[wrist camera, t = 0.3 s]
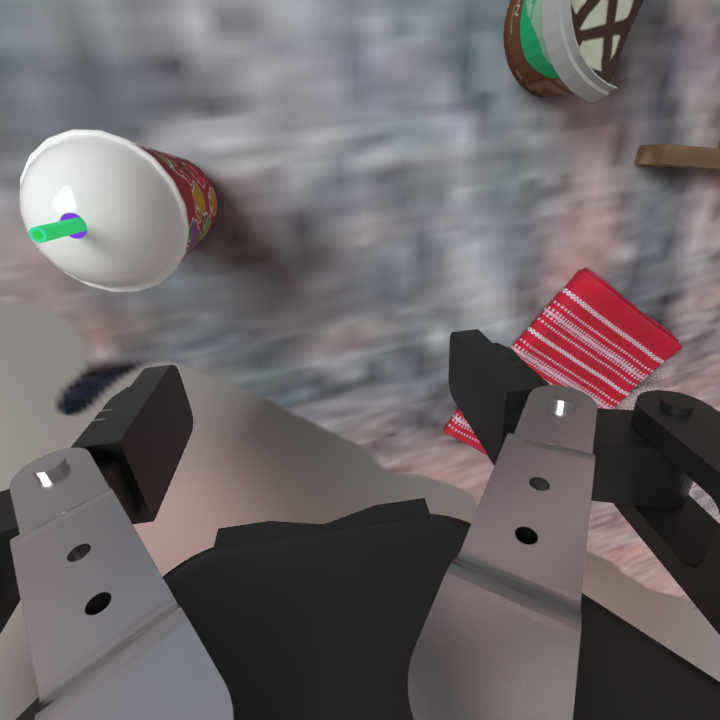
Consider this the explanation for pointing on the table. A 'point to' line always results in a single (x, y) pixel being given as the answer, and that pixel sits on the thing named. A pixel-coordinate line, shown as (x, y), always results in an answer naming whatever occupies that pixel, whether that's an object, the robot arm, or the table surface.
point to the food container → (567, 44)
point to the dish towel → (587, 346)
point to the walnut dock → (679, 157)
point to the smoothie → (114, 209)
